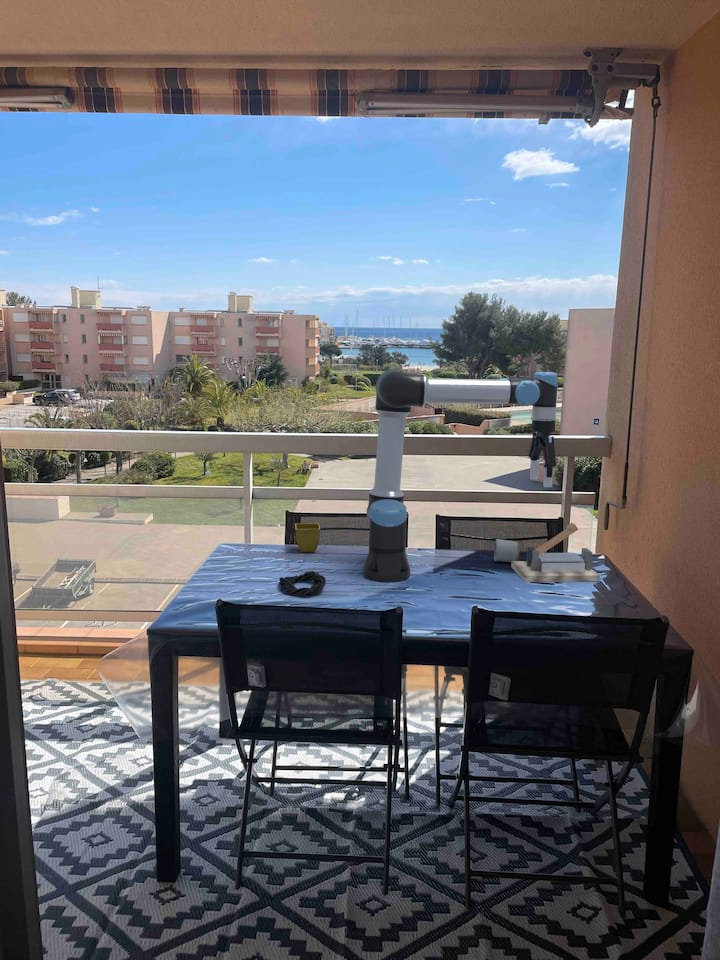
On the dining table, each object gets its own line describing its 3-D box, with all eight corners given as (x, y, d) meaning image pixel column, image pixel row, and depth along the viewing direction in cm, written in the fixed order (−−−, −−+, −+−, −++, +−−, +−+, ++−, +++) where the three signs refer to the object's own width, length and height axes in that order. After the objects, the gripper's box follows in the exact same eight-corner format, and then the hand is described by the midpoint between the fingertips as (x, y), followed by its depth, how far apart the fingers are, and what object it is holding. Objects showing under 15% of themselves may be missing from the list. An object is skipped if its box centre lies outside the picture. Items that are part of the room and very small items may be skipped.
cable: (326, 599, 218) (326, 584, 217) (278, 599, 216) (278, 585, 216) (324, 580, 234) (324, 567, 234) (278, 581, 233) (279, 567, 232)
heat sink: (533, 573, 238) (535, 553, 237) (524, 563, 249) (525, 544, 248) (594, 572, 240) (595, 553, 239) (582, 563, 250) (583, 544, 249)
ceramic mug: (519, 565, 254) (520, 542, 253) (494, 563, 255) (496, 541, 254) (516, 556, 265) (517, 535, 263) (492, 555, 265) (493, 534, 264)
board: (525, 581, 236) (525, 575, 236) (511, 566, 252) (511, 561, 251) (599, 581, 238) (599, 575, 237) (580, 566, 254) (581, 560, 253)
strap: (535, 559, 241) (531, 554, 241) (531, 556, 245) (528, 551, 244) (578, 530, 241) (575, 525, 240) (574, 527, 244) (571, 522, 244)
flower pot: (294, 547, 271) (294, 523, 269) (318, 547, 271) (319, 522, 270) (295, 554, 262) (295, 529, 260) (320, 553, 263) (320, 528, 261)
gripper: (569, 423, 234) (565, 490, 238) (542, 415, 259) (539, 476, 263) (545, 423, 234) (542, 490, 238) (521, 415, 258) (518, 476, 262)
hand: (540, 483), depth 250 cm, fingers open, 13 cm apart
